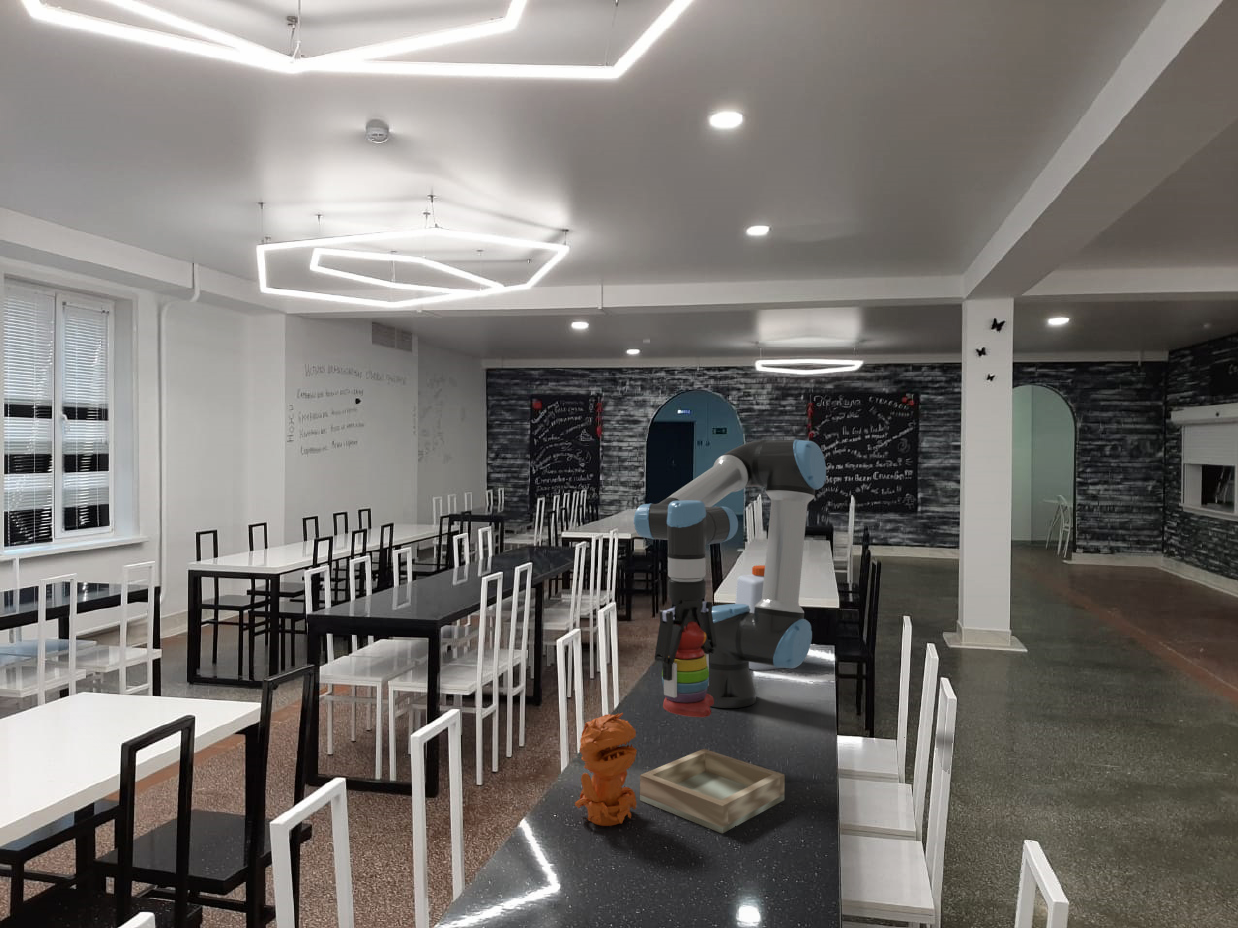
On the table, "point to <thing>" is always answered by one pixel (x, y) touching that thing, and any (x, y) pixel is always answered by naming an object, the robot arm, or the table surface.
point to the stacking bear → (690, 676)
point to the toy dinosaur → (607, 769)
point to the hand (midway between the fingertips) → (686, 690)
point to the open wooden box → (712, 789)
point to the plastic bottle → (752, 599)
